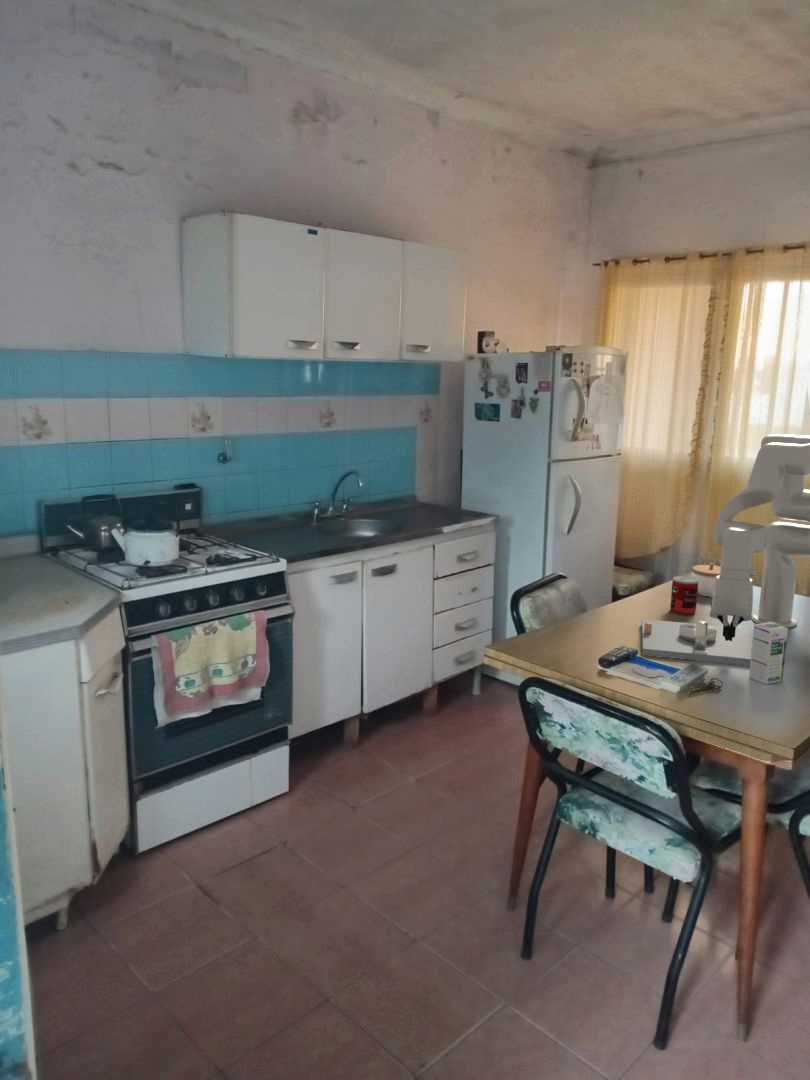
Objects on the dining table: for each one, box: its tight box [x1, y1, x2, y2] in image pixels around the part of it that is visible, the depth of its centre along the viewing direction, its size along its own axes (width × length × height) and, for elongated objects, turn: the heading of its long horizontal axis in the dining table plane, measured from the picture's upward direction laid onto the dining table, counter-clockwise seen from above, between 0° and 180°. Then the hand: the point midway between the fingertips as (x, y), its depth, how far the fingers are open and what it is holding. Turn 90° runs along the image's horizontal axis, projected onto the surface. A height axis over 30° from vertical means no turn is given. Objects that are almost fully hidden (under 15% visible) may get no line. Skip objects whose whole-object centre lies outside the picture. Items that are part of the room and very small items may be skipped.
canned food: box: [670, 575, 698, 616], centre depth 265 cm, size 8×8×11 cm
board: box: [641, 618, 753, 667], centre depth 234 cm, size 28×30×5 cm
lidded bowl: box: [691, 562, 721, 598], centre depth 286 cm, size 13×13×11 cm
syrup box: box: [749, 622, 789, 685], centre depth 208 cm, size 6×6×14 cm
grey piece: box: [679, 620, 717, 651], centre depth 230 cm, size 16×10×8 cm, turn 165°
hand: (728, 639), depth 222 cm, fingers closed
